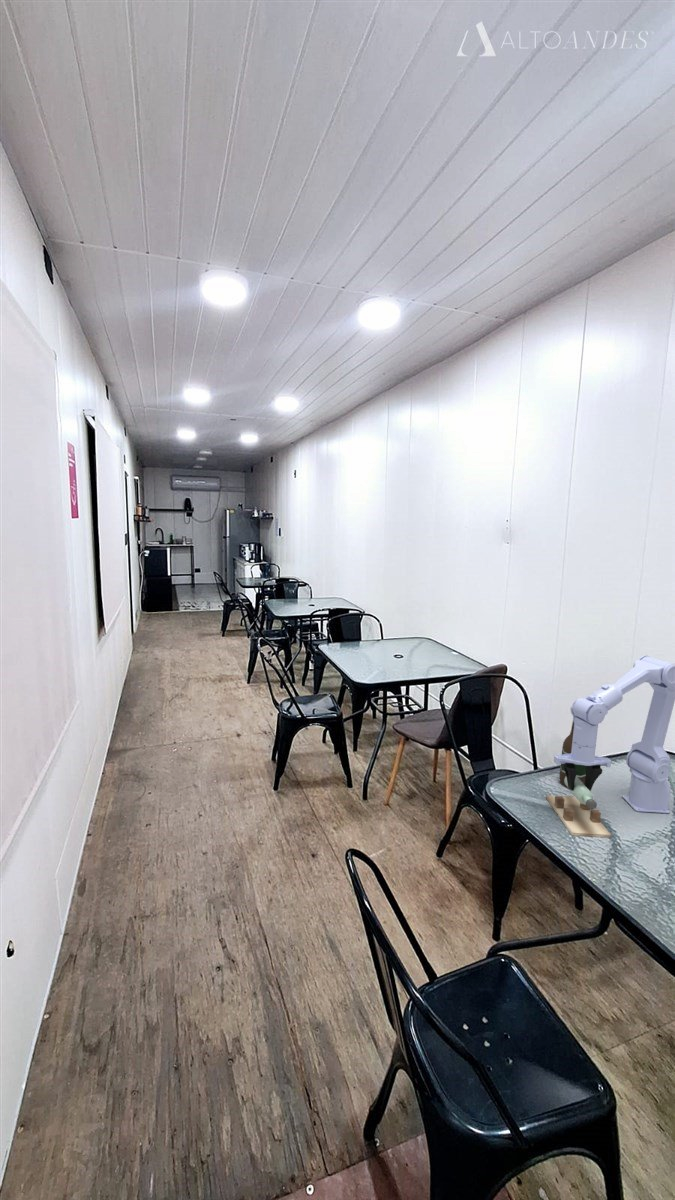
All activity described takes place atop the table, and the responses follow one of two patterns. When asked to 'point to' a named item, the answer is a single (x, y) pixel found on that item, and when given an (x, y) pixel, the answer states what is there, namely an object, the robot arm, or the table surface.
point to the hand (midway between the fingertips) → (579, 789)
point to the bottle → (582, 793)
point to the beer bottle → (580, 768)
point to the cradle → (578, 817)
